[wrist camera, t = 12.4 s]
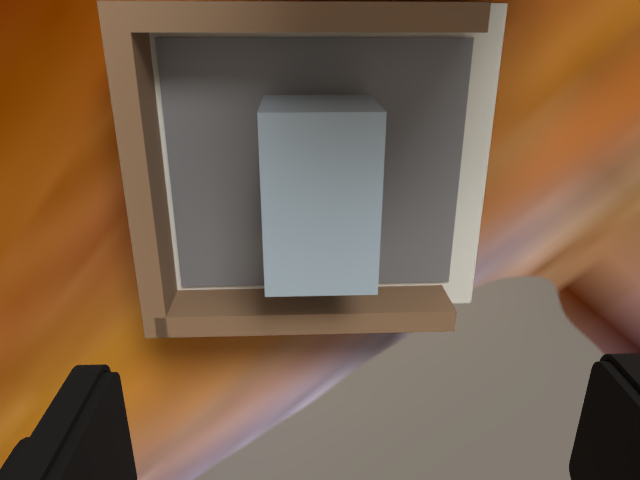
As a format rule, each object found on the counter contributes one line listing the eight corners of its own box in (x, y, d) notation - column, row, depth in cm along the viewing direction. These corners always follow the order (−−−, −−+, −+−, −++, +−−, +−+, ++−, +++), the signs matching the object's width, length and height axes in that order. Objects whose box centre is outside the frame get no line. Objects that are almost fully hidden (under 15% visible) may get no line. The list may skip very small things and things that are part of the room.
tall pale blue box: (264, 91, 26) (257, 112, 21) (367, 91, 27) (386, 112, 21) (270, 243, 29) (264, 297, 24) (362, 242, 30) (377, 294, 24)
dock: (136, 3, 28) (96, 0, 22) (486, 4, 28) (533, 2, 23) (169, 284, 34) (144, 338, 28) (456, 279, 34) (487, 330, 29)
